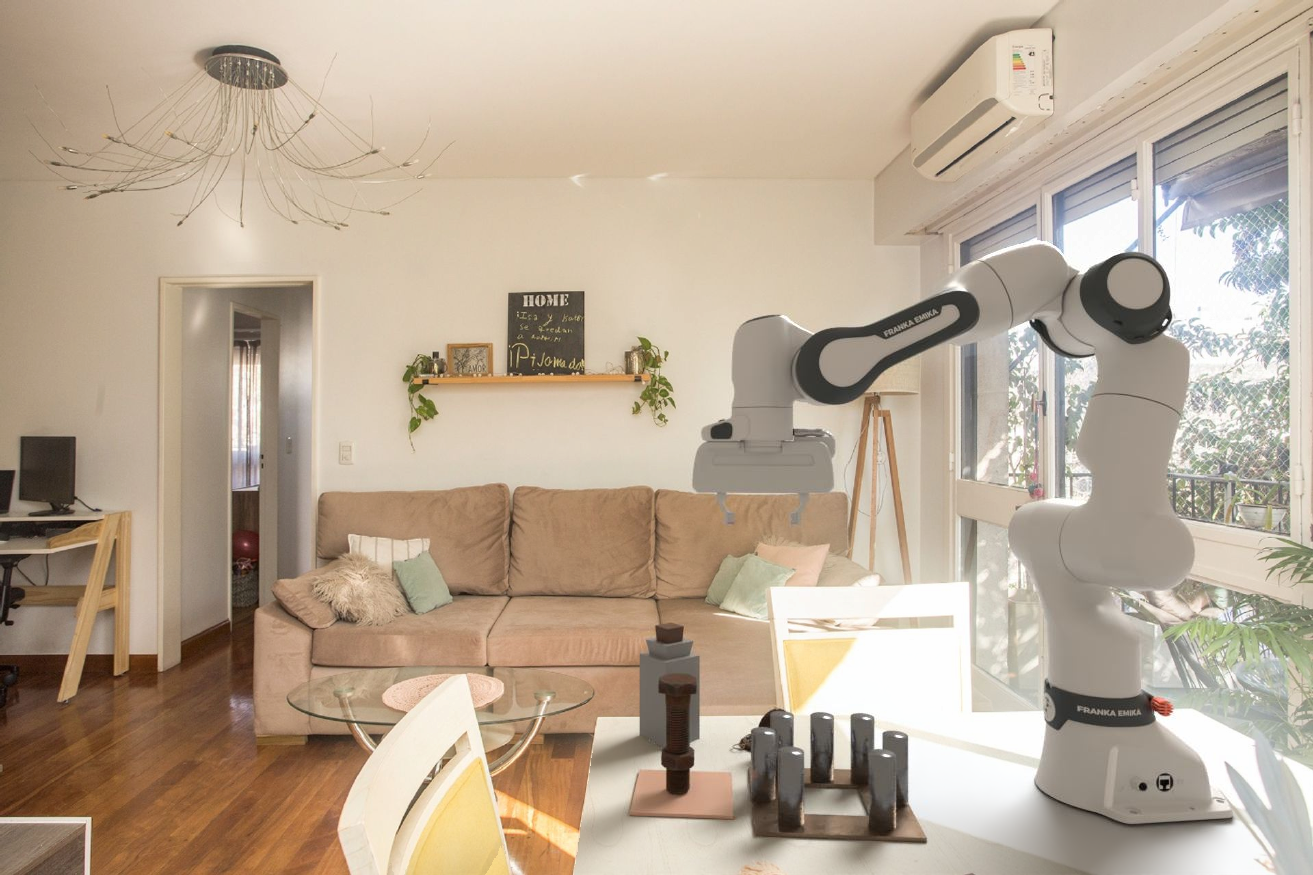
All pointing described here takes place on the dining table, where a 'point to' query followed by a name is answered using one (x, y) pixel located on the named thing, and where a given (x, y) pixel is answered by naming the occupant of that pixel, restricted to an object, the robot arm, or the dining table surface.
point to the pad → (684, 796)
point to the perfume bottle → (662, 659)
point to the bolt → (677, 730)
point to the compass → (765, 722)
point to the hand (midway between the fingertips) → (762, 524)
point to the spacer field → (830, 781)
